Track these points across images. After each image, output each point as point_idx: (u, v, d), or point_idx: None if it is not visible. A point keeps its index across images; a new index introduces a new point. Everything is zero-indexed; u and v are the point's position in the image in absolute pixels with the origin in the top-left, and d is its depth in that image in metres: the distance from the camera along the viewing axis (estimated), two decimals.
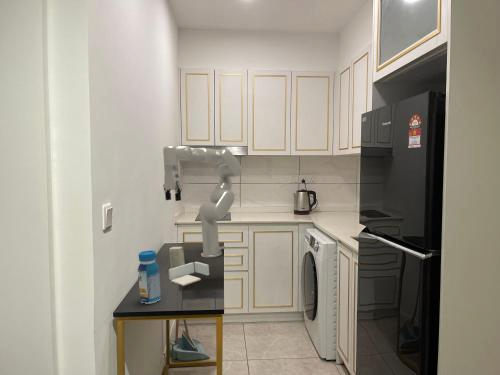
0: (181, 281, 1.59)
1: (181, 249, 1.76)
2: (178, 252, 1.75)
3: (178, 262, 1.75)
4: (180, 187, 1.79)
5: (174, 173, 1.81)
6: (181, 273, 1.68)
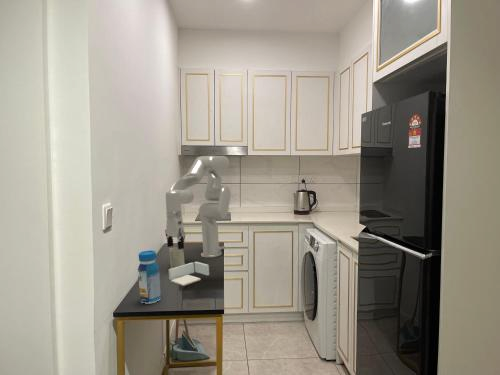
0: (181, 281, 1.59)
1: (181, 249, 1.76)
2: (178, 252, 1.75)
3: (178, 262, 1.75)
4: (183, 235, 1.70)
5: (177, 220, 1.72)
6: (181, 273, 1.68)
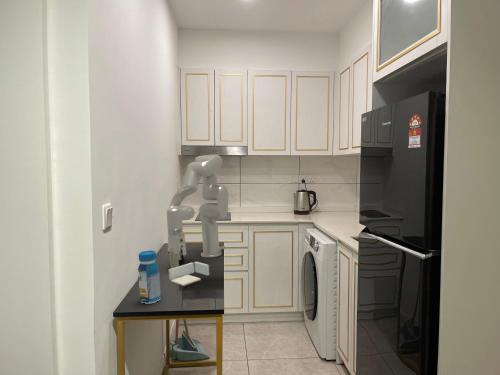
0: (181, 281, 1.59)
1: None
2: None
3: (178, 262, 1.75)
4: (184, 254, 1.72)
5: (178, 238, 1.73)
6: (181, 273, 1.68)
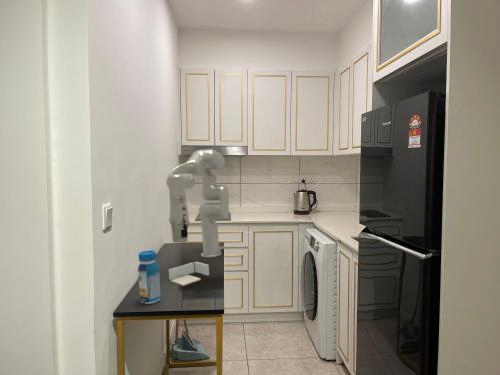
0: (181, 281, 1.59)
1: None
2: None
3: (180, 232, 1.63)
4: (187, 223, 1.59)
5: (181, 206, 1.61)
6: (181, 273, 1.68)
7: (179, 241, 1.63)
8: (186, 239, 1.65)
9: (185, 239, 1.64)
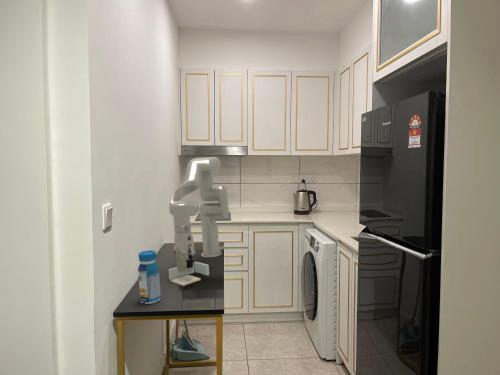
0: (181, 281, 1.59)
1: None
2: None
3: (185, 262, 1.58)
4: (192, 254, 1.55)
5: (186, 235, 1.56)
6: (181, 273, 1.68)
7: (184, 271, 1.58)
8: (191, 269, 1.60)
9: (190, 269, 1.60)
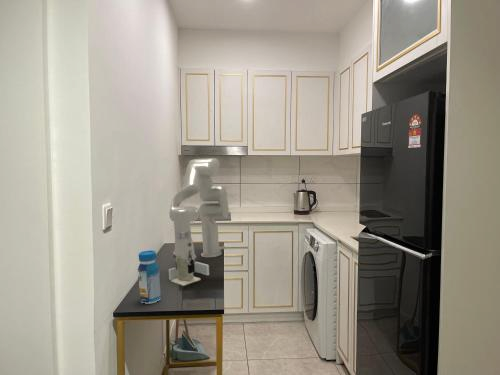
0: (181, 281, 1.59)
1: None
2: None
3: (186, 270, 1.58)
4: (194, 258, 1.54)
5: (186, 241, 1.56)
6: None
7: (185, 279, 1.59)
8: (192, 276, 1.61)
9: (191, 276, 1.60)
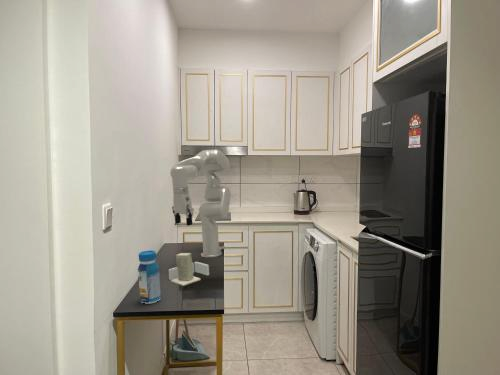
0: (181, 281, 1.59)
1: (189, 256, 1.60)
2: (185, 259, 1.58)
3: (186, 270, 1.58)
4: (191, 211, 1.67)
5: (184, 196, 1.69)
6: None
7: (185, 279, 1.59)
8: (192, 276, 1.61)
9: (191, 276, 1.60)
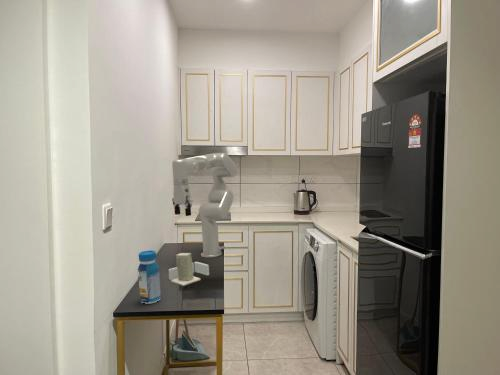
0: (181, 281, 1.59)
1: (189, 256, 1.60)
2: (185, 259, 1.58)
3: (186, 270, 1.58)
4: (190, 202, 1.75)
5: (184, 188, 1.76)
6: None
7: (185, 279, 1.59)
8: (192, 276, 1.61)
9: (191, 276, 1.60)
